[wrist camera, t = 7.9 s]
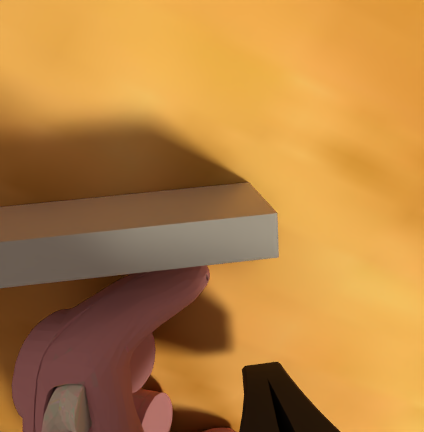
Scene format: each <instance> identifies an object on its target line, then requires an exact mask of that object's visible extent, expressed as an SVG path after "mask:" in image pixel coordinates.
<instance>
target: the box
mask: <svg viewBox="0 0 424 432" xmlns="http://www.w3.org/2000/svg"><path fill="white" fill-rule="evenodd" d="M277 257H279V253H278V221H277V212H276V211H275V210H274V209H273V208H272V207H271V206H270V205H269V204H268V203H267V201H266V200H265V199H264V198H263V197H262V196H261V195H260V194H259V193H258V192H257V191H256V190H255V188H254V187H253V186H252V185H251V184H250V183H249V182H246V183H236V184H226V185H216V186H206V187H195V188H185V189H175V190H165V191H155V192H145V193H135V194H125V195H115V196H105V197H95V198H85V199H75V200H65V201H55V202H45V203H35V204H25V205H15V206H5V207H0V288H7V287H16V286H25V285H34V284H43V283H52V282H61V281H70V280H79V279H88V278H97V277H106V276H115V275H124V274H133V273H142V272H151V271H160V270H169V269H178V268H187V267H196V266H205V265H214V264H223V263H232V262H241V261H250V260H259V259H268V258H277Z"/></svg>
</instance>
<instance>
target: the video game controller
mask: <svg viewBox="0 0 424 432" xmlns="http://www.w3.org/2000/svg"><path fill="white" fill-rule="evenodd" d="M209 277H210V273H209V269H208V267H207V265H205V266H196V267H187V268H178V269H169V270H160V271H151V272H142V273H133V274H130V275H128V276H126V277H123V278H121V279H119V280H117V281H116V282H114V283H112V284H111V285H109V286H108V287H106V288H104V289H103V290H101V291H100V292H98V293H96V294H95V295H93V296H92V297H90V298H88V299H87V300H85V301H83V302H82V303H80V304H79V305H77V306H75V307H74V308H71V309H63V310H59V311H57V312H54V313H52V314H51V315H49V316H47V317H46V318H45V319H43V320H42V321H41V322H40V323H38V324H37V325H36V326H35V327H34V328H33V329H32V331H31V332H30V334H29V335H28V337H27V338H26V339H25V341H24V343H23V345H22V347H21V349H20V352H19V355H18V358H17V360H16V364H15V369H14V375H13V381H12V397H13V401H14V405H15V407H16V409H17V411H18V413H19V415H20V416H21V417H22V418H23V432H169V431H170V427H171V423H172V404H171V400H170V398H169V396H168V395H167V394H166V393H162V392H157V391H151V390H146V389H140V388H141V387H142V386H143V385H144V383H145V382H146V381H147V379H148V377H149V376H150V374H151V372H152V369H153V365H154V360H155V341H154V337H153V334H152V332H153V331H154V330H156V329H157V328H158V327H159V326H160V325H162V324H163V323H164V322H166V321H167V320H169V319H170V318H171V317H173V316H174V315H175V314H177V313H178V312H180V311H181V310H182V309H184V308H185V307H186V306H188V305H189V304H191V303H192V302H193V301H195V299H196V298H197V297H198V296H199V294H200V293H201V292H202V291H203V289H204V288H205V287H206V286H207V283H208V281H209ZM203 432H235V431H234V430H232V429H231V428H224V427H221V428H212V429H209V430H206V431H203Z"/></svg>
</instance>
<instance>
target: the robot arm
mask: <svg viewBox="0 0 424 432" xmlns="http://www.w3.org/2000/svg"><path fill="white" fill-rule="evenodd" d="M242 374H243V387H244V402H243V412H242V419H241V425H240V431H239V432H340V431H339V430H338V429H337V428H336V427H335V426H334V425H333V424H332V423H331V422H330V421H329V420H328V419H327V418H326V417H325V416H324V415H323V414H322V413H321V412H320V411H319V410H318V409H317V408H316V407H315V406H314V405H313V404H312V402H311V401H310V400H309V399H308V398H307V397H306V396H305V395H304V393H303V392H302V391H301V390H300V389H299V388H298V386H297V385H296V384H295V383H294V381H293V380H292V379H291V378H290V376H289V375H288V374H287V372H286V371H285V370H284V368H283V367H282V365H281V364H280V363H279V362H272V363H264V364H257V365H249V366H245V367H244V368H243V369H242Z"/></svg>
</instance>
